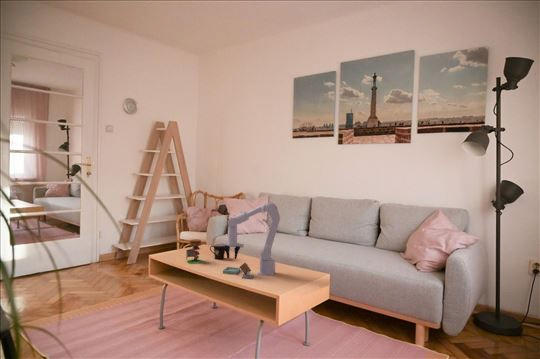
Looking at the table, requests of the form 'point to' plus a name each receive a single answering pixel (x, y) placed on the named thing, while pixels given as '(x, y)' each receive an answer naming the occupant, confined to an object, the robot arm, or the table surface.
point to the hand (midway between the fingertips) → (231, 258)
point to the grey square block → (247, 276)
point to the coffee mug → (218, 251)
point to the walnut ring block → (245, 268)
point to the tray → (231, 270)
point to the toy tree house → (194, 252)
